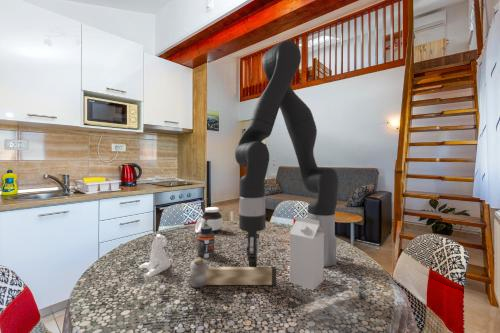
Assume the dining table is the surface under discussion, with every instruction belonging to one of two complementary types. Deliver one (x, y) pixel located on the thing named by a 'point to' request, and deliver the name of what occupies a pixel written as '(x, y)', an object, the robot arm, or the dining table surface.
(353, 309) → the dining table surface
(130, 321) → the dining table surface
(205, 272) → the dial lever
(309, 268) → the milk carton
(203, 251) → the supplement bottle
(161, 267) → the white creature statuette
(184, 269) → the dining table surface
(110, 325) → the dining table surface
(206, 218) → the spread jar
